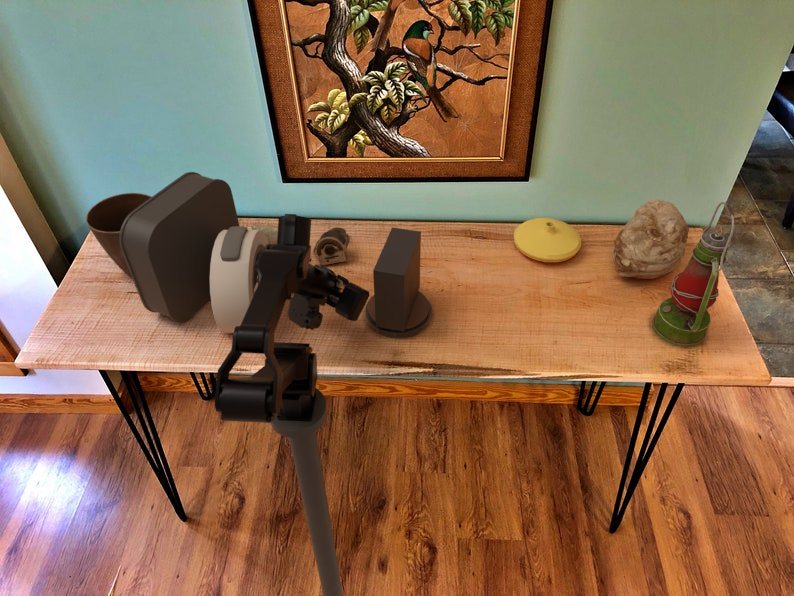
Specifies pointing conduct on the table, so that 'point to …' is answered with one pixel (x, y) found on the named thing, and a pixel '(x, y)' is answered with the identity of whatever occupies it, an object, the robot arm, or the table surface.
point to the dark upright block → (398, 283)
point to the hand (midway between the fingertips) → (347, 292)
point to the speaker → (177, 243)
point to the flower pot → (113, 223)
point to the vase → (547, 240)
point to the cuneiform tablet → (268, 232)
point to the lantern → (694, 290)
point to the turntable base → (399, 334)
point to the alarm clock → (234, 274)
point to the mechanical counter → (332, 246)
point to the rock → (651, 241)
